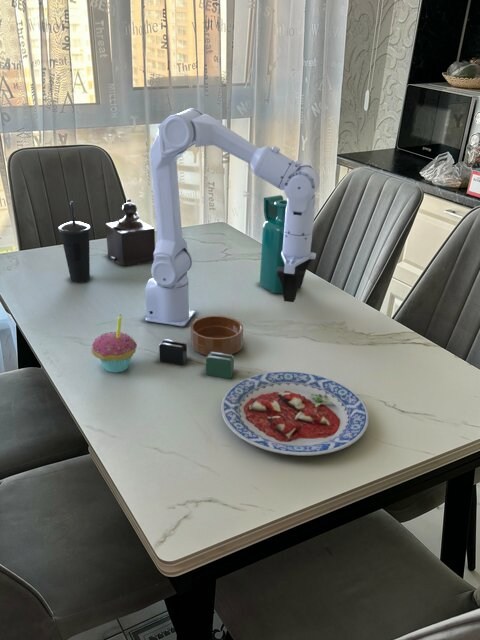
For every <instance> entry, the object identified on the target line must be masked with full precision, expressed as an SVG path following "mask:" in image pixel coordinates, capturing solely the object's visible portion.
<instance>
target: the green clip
mask: <svg viewBox="0 0 480 640" xmlns="http://www.w3.org/2000/svg"><path fill="white" fill-rule="evenodd" d="M234 373H235V355H233V354H231V355H229V354H223V353H217V352H210V353H209V355H208V356H207V355H206V357H205V375H206V376H209V377H210V376H211V377H216V378H222V379H229V380H231V378H232V377H233V375H234Z"/></svg>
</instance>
